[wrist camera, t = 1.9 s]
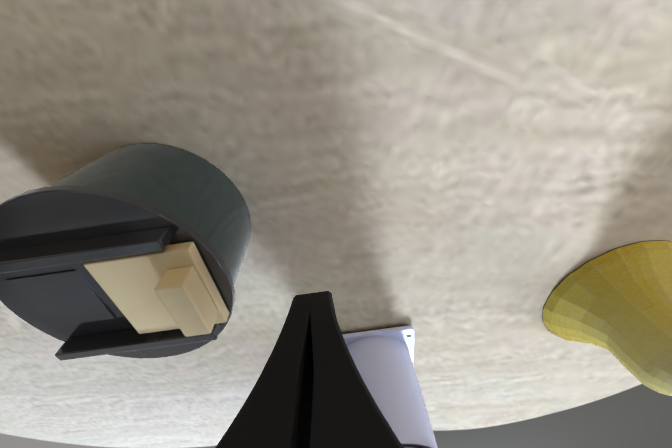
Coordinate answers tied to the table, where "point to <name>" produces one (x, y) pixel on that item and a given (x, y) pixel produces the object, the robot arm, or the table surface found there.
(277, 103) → the table surface
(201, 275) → the slider
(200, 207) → the canister
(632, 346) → the handbell
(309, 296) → the robot arm
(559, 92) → the table surface
